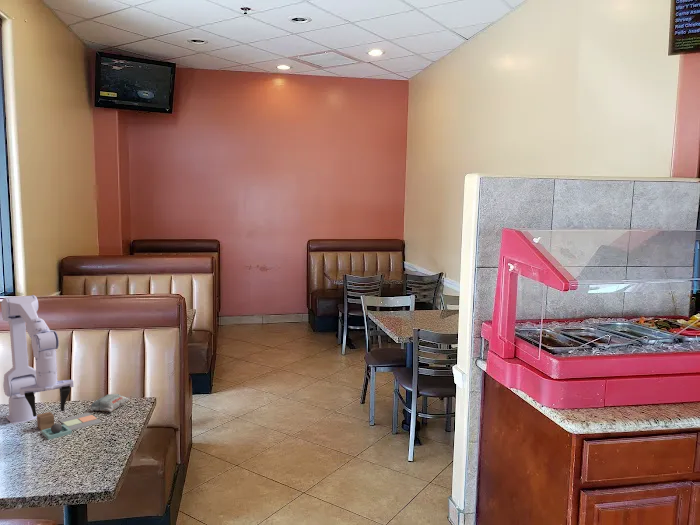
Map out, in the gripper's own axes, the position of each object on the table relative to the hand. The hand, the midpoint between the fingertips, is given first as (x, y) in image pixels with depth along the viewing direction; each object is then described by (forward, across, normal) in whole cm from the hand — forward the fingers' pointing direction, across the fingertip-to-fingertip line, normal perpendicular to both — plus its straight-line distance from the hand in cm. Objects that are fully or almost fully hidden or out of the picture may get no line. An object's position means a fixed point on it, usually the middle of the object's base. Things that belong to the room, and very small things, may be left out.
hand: (48, 412), depth 173 cm
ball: (+9, +3, +6) cm, 11 cm away
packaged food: (+10, +22, +20) cm, 32 cm away
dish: (+10, +3, +6) cm, 12 cm away
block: (+10, 0, +13) cm, 16 cm away
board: (+10, +11, +12) cm, 19 cm away
